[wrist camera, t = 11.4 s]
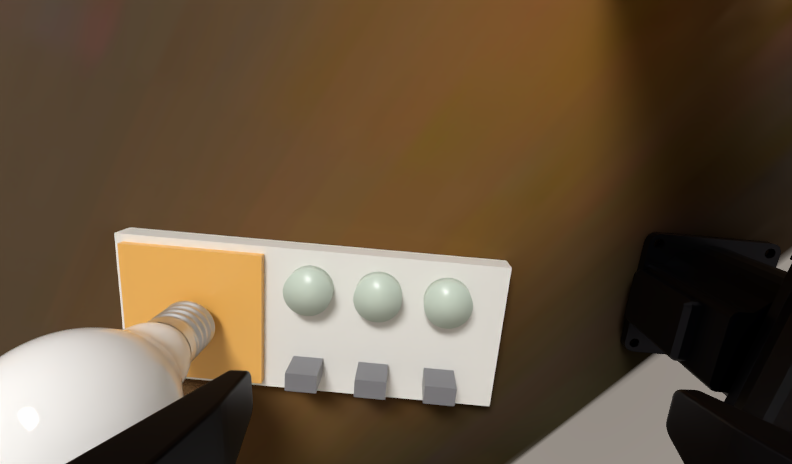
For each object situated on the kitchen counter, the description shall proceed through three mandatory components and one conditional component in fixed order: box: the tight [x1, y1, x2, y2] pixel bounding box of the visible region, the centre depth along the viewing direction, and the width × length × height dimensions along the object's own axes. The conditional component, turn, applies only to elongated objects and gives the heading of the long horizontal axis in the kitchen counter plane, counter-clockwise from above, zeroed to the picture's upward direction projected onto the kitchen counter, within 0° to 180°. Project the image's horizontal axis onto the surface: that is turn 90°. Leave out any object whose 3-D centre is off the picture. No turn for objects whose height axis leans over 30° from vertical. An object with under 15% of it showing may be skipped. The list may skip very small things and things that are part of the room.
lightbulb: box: [0, 301, 215, 464], centre depth 16 cm, size 6×6×11 cm
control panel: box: [114, 227, 512, 406], centre depth 21 cm, size 20×8×3 cm, turn 85°
